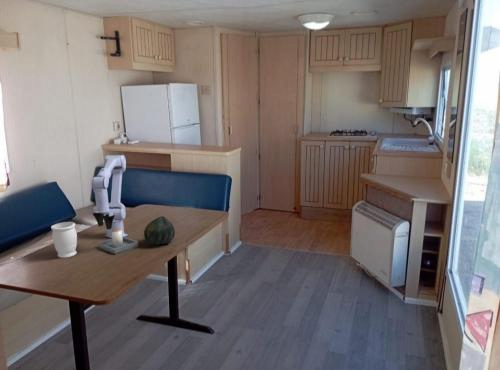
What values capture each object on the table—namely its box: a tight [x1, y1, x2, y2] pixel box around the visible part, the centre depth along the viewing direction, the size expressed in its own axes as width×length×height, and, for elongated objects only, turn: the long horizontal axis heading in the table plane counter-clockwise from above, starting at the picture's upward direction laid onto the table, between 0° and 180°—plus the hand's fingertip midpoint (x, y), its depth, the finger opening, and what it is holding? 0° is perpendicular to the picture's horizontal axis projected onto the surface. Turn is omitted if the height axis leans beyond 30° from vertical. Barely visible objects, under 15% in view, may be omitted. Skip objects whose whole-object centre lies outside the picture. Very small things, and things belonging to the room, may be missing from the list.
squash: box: [143, 216, 176, 246], centre depth 202 cm, size 14×15×15 cm
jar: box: [50, 221, 78, 259], centre depth 190 cm, size 11×10×15 cm
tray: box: [97, 236, 139, 255], centre depth 199 cm, size 15×13×2 cm
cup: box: [111, 229, 123, 248], centre depth 198 cm, size 5×5×8 cm
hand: (105, 227), depth 197 cm, fingers open, 7 cm apart
